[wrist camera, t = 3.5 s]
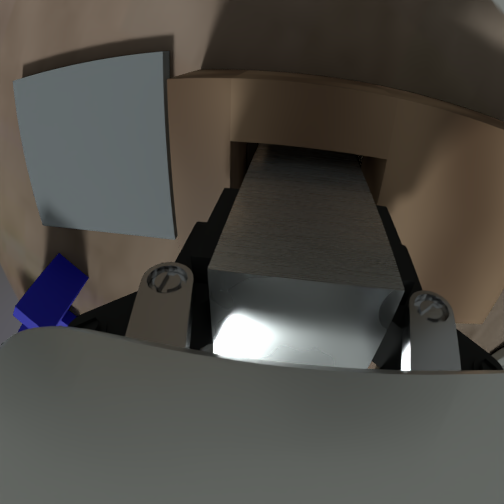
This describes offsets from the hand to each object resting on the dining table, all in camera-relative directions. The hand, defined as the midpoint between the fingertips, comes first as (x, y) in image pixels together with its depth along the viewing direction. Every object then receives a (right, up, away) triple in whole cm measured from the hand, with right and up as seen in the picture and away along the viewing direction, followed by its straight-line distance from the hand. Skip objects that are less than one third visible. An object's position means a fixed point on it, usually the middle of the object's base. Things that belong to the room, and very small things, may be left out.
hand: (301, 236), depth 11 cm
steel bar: (+1, +3, +4) cm, 5 cm away
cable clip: (-18, -5, +14) cm, 24 cm away
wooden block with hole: (+4, +3, +4) cm, 6 cm away
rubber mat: (-11, +5, +5) cm, 13 cm away
